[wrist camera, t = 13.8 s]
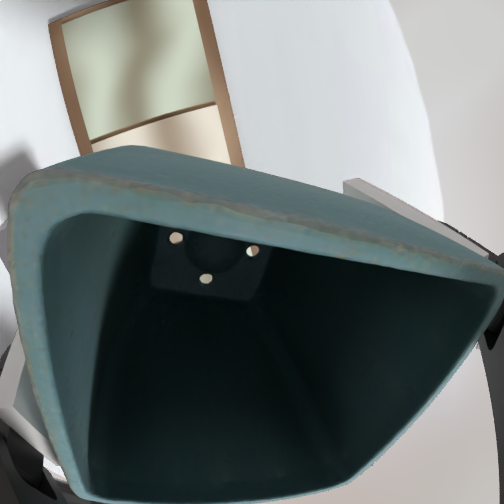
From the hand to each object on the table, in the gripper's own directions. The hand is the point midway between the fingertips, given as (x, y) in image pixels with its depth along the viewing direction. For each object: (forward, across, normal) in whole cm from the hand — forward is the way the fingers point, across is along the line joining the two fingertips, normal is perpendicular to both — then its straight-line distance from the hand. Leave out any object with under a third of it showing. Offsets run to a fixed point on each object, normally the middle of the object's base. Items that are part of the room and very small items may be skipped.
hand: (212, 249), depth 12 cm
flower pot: (+2, 0, 0) cm, 2 cm away
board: (+17, -1, -2) cm, 17 cm away
